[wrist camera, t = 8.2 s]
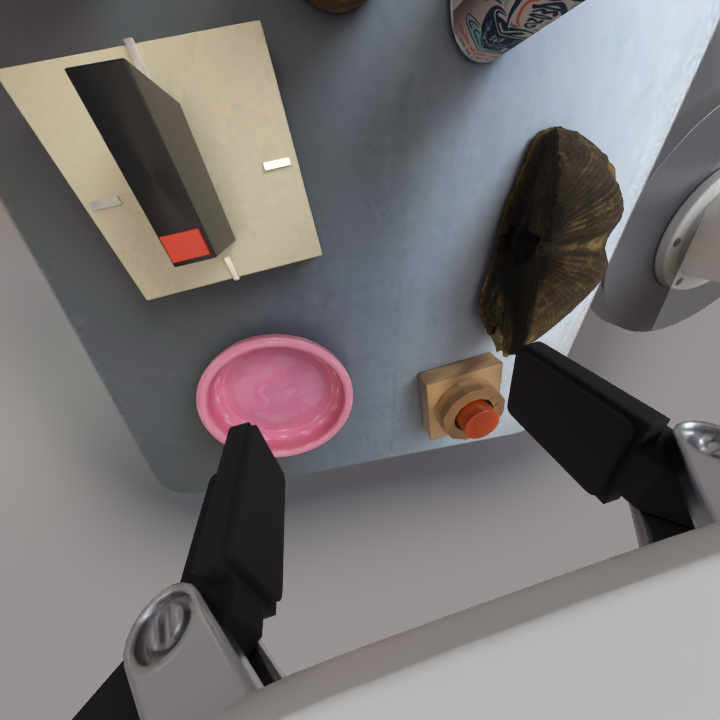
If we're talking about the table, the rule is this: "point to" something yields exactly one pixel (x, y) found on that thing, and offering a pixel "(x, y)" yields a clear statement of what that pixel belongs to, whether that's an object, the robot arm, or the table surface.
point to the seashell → (550, 238)
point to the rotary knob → (155, 158)
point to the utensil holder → (336, 5)
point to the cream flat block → (213, 138)
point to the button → (477, 419)
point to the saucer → (276, 392)
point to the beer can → (501, 23)
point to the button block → (458, 392)
